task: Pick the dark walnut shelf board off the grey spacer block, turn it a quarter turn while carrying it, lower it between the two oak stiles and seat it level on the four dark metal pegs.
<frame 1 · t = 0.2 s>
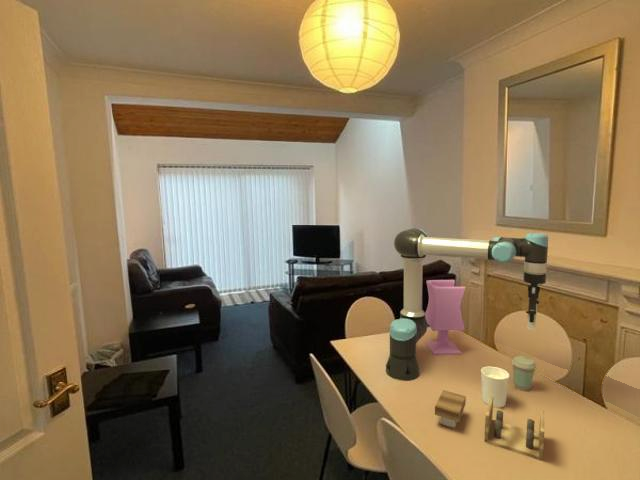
hand: (531, 324, 140), 28 cm above the table, fingers open, 13 cm apart
peg frame: (513, 439, 114), on the table
spacer: (450, 419, 125), on the table
coffee cup: (522, 387, 144), on the table
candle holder: (493, 401, 135), on the table
vase: (442, 348, 182), on the table
board: (450, 409, 124), point 4 cm above the table, touching spacer
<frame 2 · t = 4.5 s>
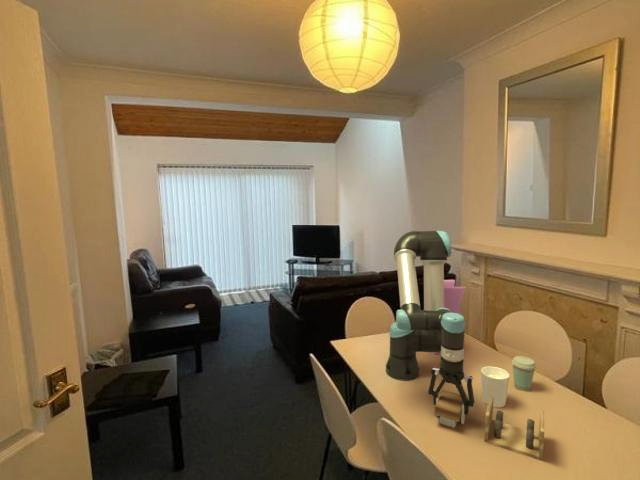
hand: (450, 417, 124), 1 cm above the table, fingers closed on board, 8 cm apart
board: (450, 409, 124), point 4 cm above the table, touching gripper, spacer
everything else where it was.
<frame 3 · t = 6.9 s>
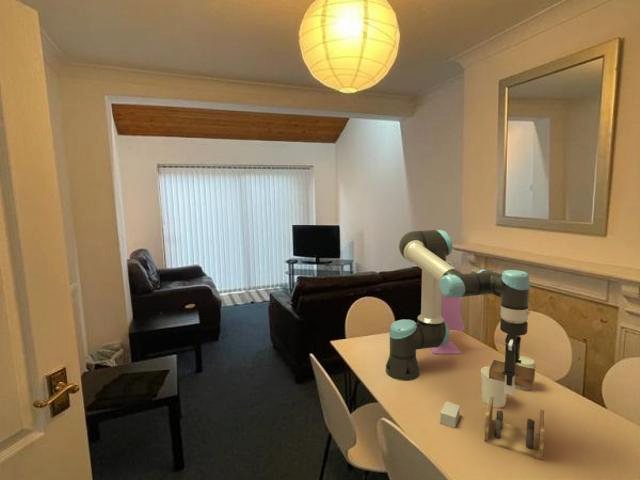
hand: (511, 387, 112), 18 cm above the table, fingers closed on board, 8 cm apart
board: (511, 378, 111), point 21 cm above the table, touching gripper
everything else where it was.
when the fingers open (5 cm above the table, at t = 9.8 s): board drops 1 cm, resting on peg frame.
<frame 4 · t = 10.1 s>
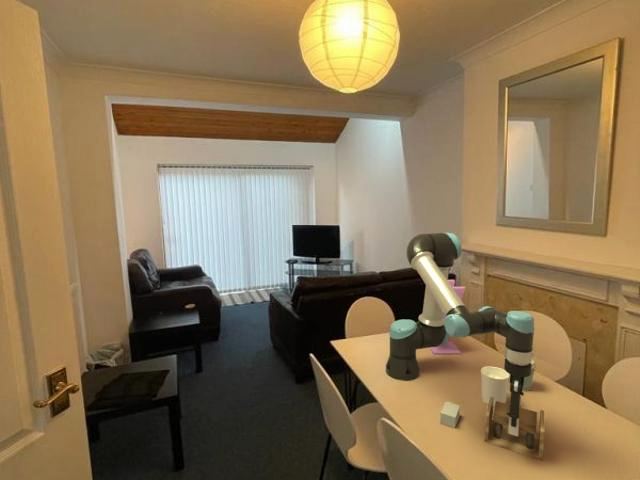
hand: (514, 423, 113), 6 cm above the table, fingers open, 11 cm apart
board: (514, 421, 113), point 6 cm above the table, touching peg frame
everything else where it was.
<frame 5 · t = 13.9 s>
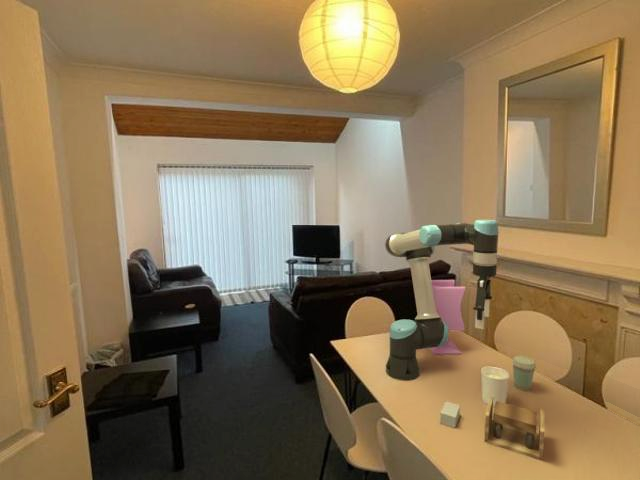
hand: (482, 322, 124), 35 cm above the table, fingers open, 13 cm apart
nothing on the table moved.
at the end: board 0.0 cm off-centre on the peg frame, point 6.5 cm above the peg frame's base; board tilted 0°; the gripper is holding nothing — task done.
